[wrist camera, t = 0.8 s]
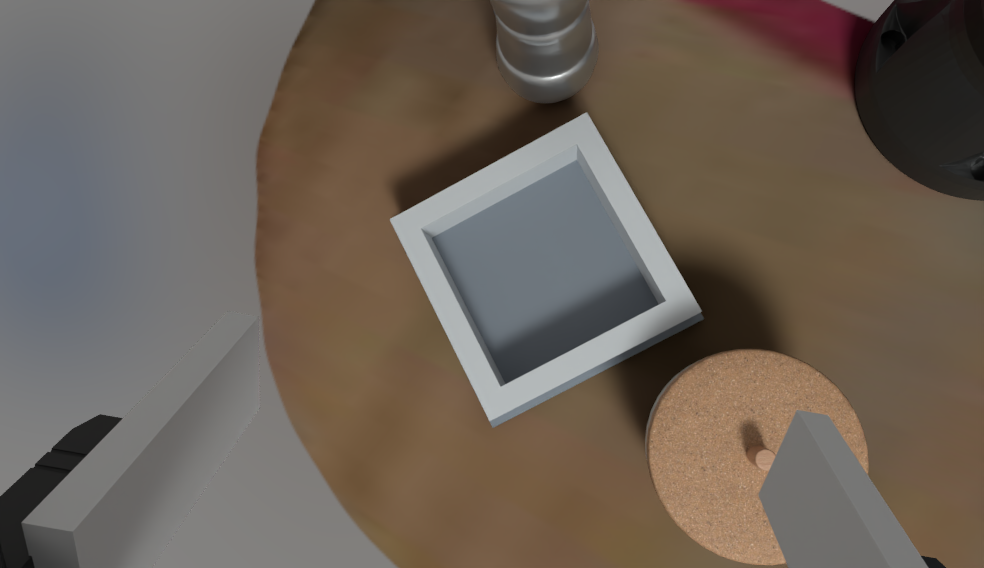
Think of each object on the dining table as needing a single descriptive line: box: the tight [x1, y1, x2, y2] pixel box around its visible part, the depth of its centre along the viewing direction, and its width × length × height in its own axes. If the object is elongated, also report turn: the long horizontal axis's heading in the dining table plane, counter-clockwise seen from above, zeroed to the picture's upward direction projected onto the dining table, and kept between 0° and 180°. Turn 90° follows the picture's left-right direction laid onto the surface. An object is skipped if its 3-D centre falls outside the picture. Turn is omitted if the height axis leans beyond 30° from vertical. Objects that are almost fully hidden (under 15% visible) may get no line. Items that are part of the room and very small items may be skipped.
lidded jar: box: [645, 349, 869, 565], centre depth 35 cm, size 11×11×9 cm
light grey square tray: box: [390, 112, 704, 427], centre depth 40 cm, size 15×15×4 cm
